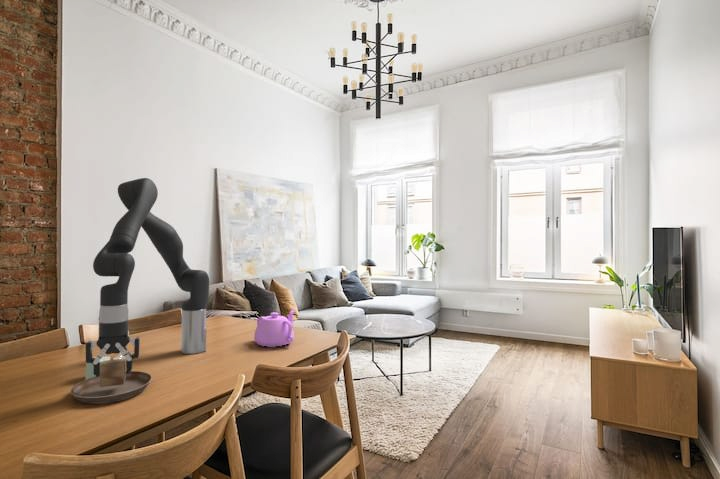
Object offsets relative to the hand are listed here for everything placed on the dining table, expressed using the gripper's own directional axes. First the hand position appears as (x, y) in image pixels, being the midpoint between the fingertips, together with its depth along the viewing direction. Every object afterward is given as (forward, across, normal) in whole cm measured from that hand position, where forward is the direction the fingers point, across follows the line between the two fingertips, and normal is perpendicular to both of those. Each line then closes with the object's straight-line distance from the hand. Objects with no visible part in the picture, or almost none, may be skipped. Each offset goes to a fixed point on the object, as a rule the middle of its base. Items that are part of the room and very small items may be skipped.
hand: (113, 374), depth 120 cm
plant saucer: (+6, 0, 0) cm, 6 cm away
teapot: (+6, -59, -37) cm, 70 cm away
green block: (+5, +6, -16) cm, 18 cm away
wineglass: (+6, +2, -37) cm, 37 cm away
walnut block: (+3, 0, 0) cm, 3 cm away
